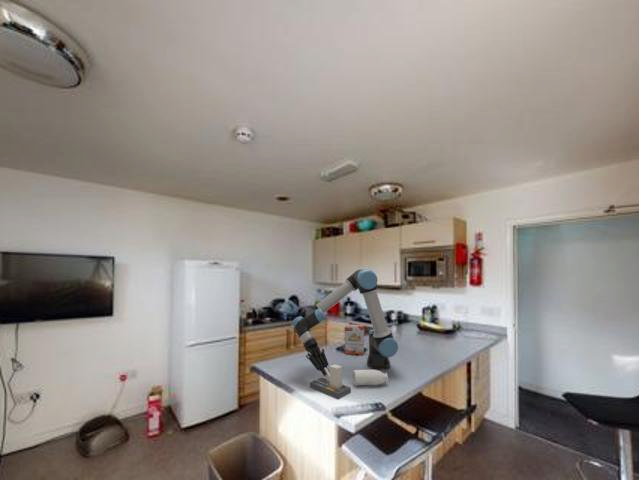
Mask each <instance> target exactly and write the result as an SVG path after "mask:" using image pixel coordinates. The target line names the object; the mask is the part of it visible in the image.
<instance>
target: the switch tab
mask: <svg viewBox="0 0 639 480" xmlns="http://www.w3.org/2000/svg"><path fill="white" fill-rule="evenodd" d="M329 372H330V385H331V386H333V387H336V388H338V389H339V388H341V387H342V384H343V366H342V365H338V364H335V363H334V364H332V365H330V366H329Z"/></svg>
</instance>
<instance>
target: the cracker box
mask: <svg viewBox="0 0 639 480" xmlns="http://www.w3.org/2000/svg"><path fill="white" fill-rule="evenodd" d="M344 333H345V334H344V336H345V337H344V340H345V341H344V343H345V344H344V346H345V347H344V352H345V354H346V355H356V354H358V355H359V356H361V355H362V356H364V355H365V326H364V324H351V323H350V324H347V323H346V324H345V326H344ZM358 355H357V356H358Z"/></svg>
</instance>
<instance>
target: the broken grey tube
mask: <svg viewBox="0 0 639 480" xmlns="http://www.w3.org/2000/svg"><path fill="white" fill-rule="evenodd" d="M352 380H353V384H354V385H355V387H357V386H360V387H361V386H378V385H382V384H383V383H387V381H389V377H388V372H385V373H384V372H382V371H381V370H379V369H353V370H352Z"/></svg>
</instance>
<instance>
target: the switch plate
mask: <svg viewBox="0 0 639 480" xmlns="http://www.w3.org/2000/svg"><path fill="white" fill-rule="evenodd" d="M309 388H311V389H314V390H316V391H318V392H320V393H323V394H324V395H328V396H331V397H333V398H335V399H338V400H339V399H341V398H343V397H345V396H347V395H349V394H350V393H351V392H352V387H351V386H348V385H347V384H346V385H345V384H343V383H342V387H341V388H339V389H338V388H336V387H333V386H331V385H330V381H329V382H328V381H327V379H326V377H325V376H320V377H318V378H317V379H313V380H312V381H309Z"/></svg>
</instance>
